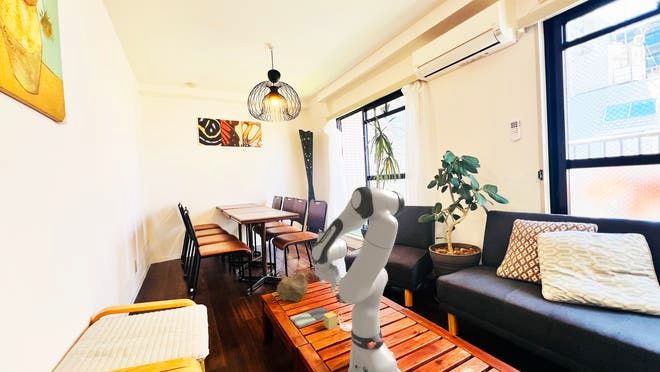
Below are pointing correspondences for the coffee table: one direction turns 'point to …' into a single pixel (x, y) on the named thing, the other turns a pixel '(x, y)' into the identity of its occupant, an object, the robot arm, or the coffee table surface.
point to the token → (330, 320)
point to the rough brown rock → (293, 287)
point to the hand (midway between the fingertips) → (328, 288)
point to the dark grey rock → (340, 299)
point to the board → (309, 317)
